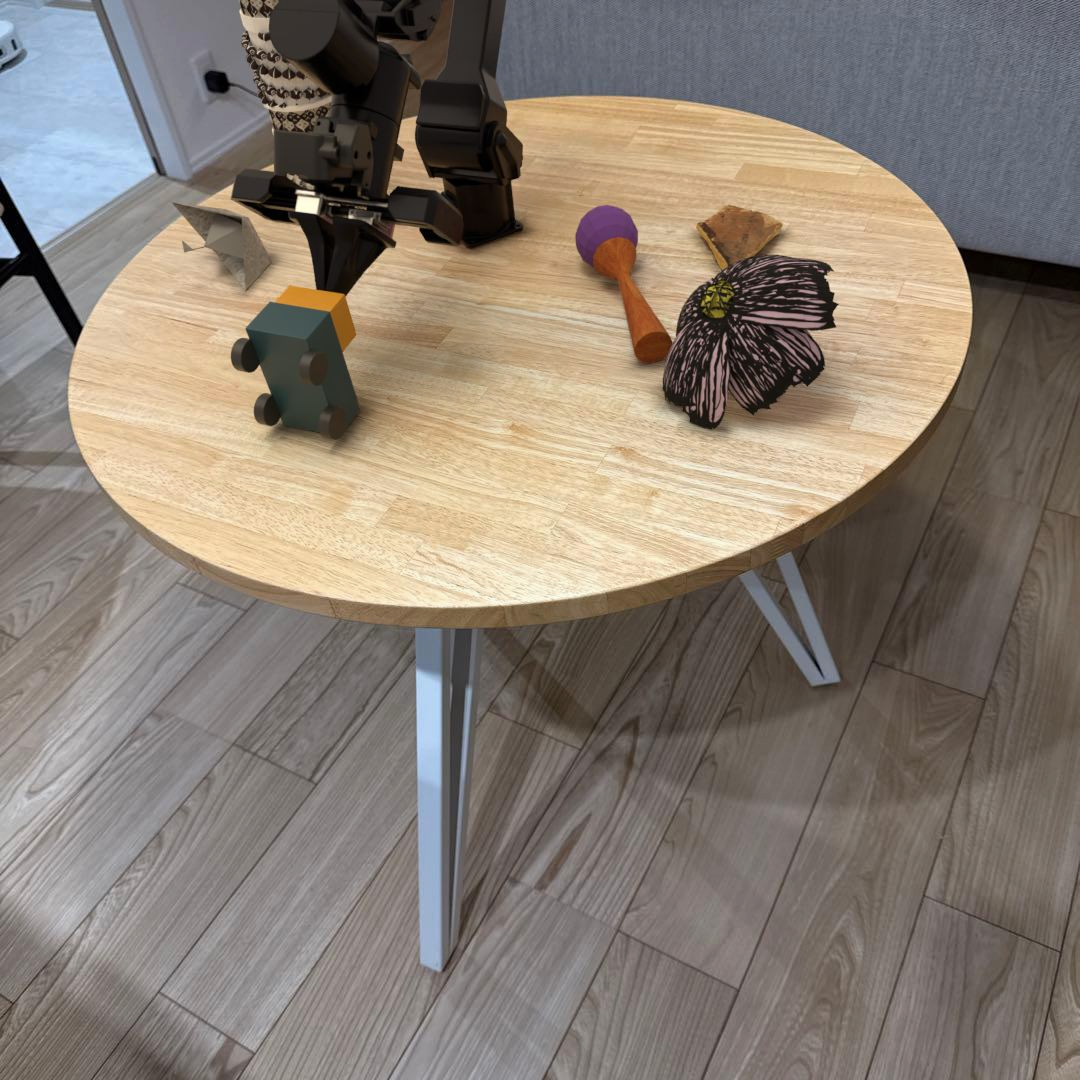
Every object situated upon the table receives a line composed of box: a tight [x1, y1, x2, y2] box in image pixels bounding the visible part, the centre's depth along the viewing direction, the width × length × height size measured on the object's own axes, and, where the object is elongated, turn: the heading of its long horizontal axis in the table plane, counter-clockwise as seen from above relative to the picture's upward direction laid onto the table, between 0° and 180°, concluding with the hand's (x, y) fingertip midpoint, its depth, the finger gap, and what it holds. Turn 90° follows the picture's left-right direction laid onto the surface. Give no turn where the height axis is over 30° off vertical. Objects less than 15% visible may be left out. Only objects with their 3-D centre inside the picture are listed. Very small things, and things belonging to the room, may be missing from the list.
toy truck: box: [230, 285, 361, 441], centre depth 81 cm, size 8×7×10 cm
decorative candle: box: [238, 0, 358, 209], centre depth 104 cm, size 9×9×25 cm
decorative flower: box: [662, 254, 839, 431], centre depth 80 cm, size 14×12×15 cm
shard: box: [695, 204, 784, 271], centre depth 97 cm, size 11×8×2 cm
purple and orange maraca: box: [574, 204, 673, 364], centre depth 91 cm, size 6×6×20 cm
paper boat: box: [171, 201, 272, 292], centre depth 102 cm, size 12×6×9 cm
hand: (326, 311), depth 81 cm, fingers closed
